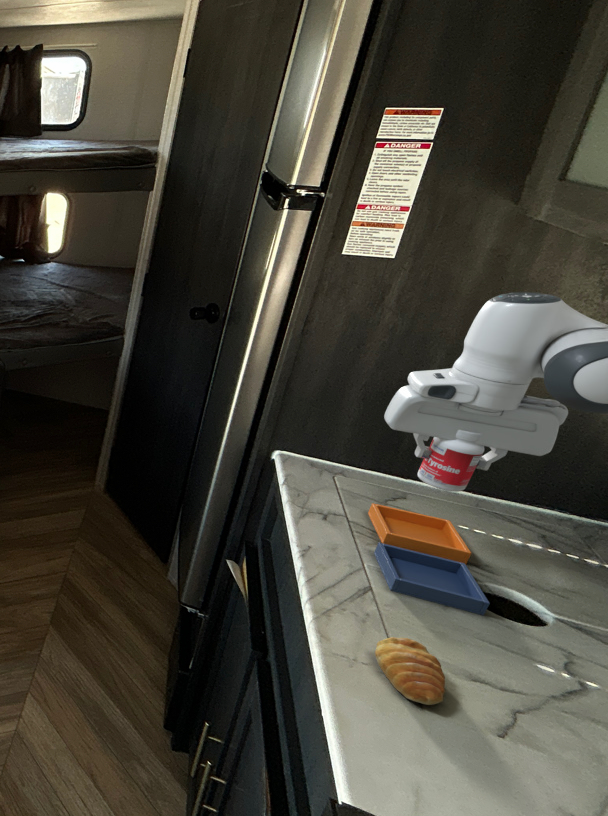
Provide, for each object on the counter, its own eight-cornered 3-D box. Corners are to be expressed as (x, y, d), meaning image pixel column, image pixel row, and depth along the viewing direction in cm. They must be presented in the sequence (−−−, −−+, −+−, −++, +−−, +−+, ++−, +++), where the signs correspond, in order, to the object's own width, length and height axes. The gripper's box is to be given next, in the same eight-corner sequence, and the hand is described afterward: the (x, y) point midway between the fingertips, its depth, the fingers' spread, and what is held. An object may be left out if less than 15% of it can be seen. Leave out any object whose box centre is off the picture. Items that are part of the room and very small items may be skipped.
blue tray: (458, 574, 105) (464, 563, 104) (483, 615, 97) (490, 603, 96) (373, 553, 110) (378, 542, 109) (390, 590, 101) (395, 578, 100)
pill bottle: (407, 476, 111) (432, 421, 106) (430, 470, 113) (455, 415, 108) (450, 496, 105) (478, 438, 101) (473, 489, 107) (501, 432, 103)
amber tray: (444, 531, 115) (450, 520, 114) (466, 564, 107) (471, 553, 106) (367, 513, 120) (372, 502, 119) (382, 544, 112) (387, 533, 111)
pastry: (455, 718, 80) (467, 697, 79) (388, 698, 83) (398, 677, 82) (427, 663, 88) (438, 643, 87) (367, 646, 91) (376, 627, 90)
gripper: (563, 395, 100) (524, 469, 105) (398, 370, 109) (370, 439, 114) (584, 411, 95) (542, 488, 100) (409, 384, 104) (379, 455, 109)
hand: (449, 462), depth 107 cm, fingers closed on pill bottle, 6 cm apart
